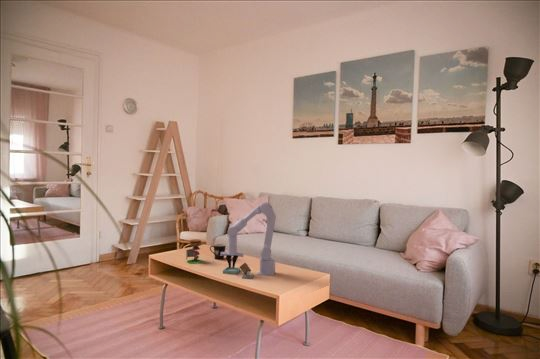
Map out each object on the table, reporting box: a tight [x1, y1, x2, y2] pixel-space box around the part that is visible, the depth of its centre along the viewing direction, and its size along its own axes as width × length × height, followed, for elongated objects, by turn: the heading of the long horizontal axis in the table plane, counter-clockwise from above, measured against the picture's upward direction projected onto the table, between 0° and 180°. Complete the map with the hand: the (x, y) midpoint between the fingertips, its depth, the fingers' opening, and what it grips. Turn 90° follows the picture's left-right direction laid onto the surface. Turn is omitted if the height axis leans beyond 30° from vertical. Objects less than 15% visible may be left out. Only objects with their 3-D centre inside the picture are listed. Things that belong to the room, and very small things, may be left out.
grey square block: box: [241, 271, 255, 280], centre depth 214 cm, size 6×6×4 cm
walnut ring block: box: [239, 262, 252, 275], centre depth 215 cm, size 4×4×5 cm
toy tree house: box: [185, 239, 204, 265], centre depth 247 cm, size 12×13×15 cm
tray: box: [222, 266, 241, 275], centre depth 225 cm, size 9×9×2 cm
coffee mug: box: [209, 243, 227, 261], centre depth 258 cm, size 12×9×10 cm
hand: (231, 267), depth 225 cm, fingers closed
